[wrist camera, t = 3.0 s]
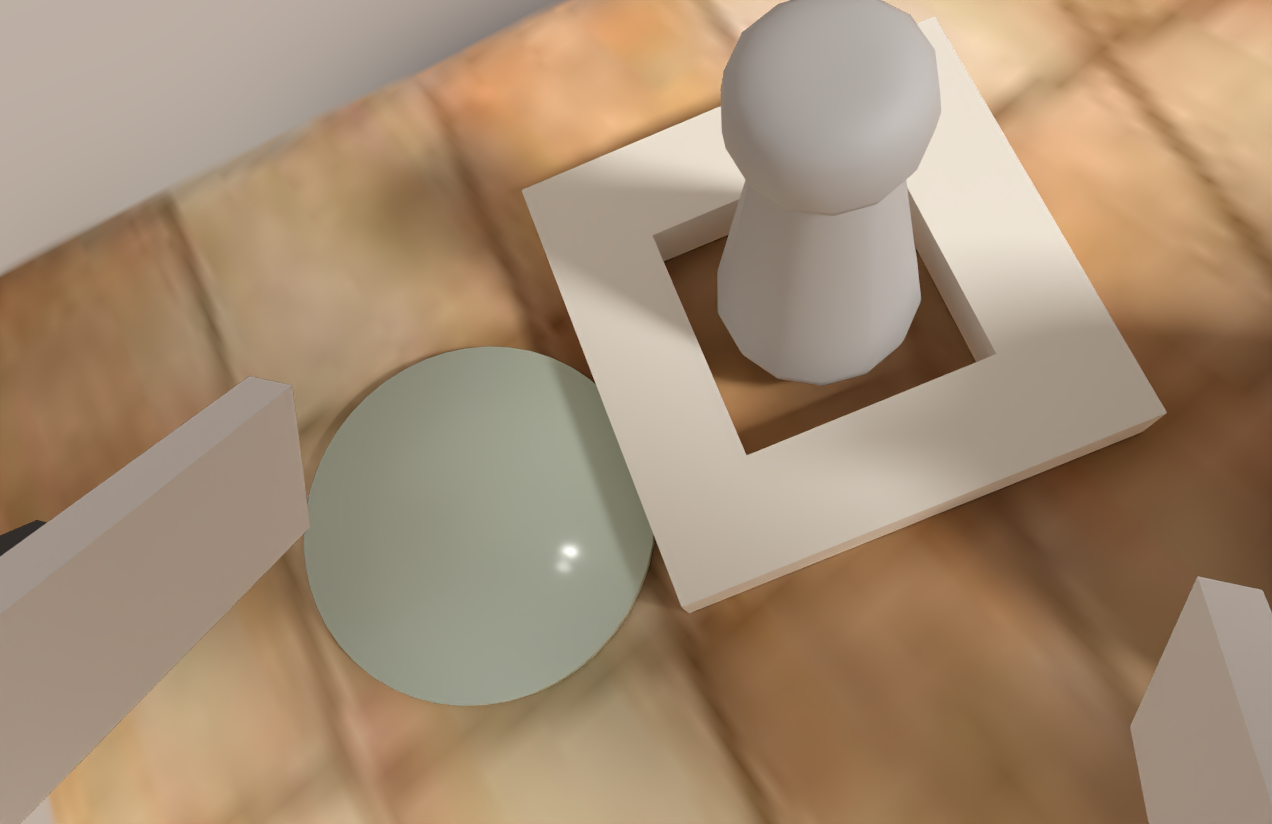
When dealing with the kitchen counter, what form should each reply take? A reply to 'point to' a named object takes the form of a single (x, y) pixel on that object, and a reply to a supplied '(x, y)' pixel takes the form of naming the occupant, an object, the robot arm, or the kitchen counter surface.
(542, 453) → the coaster
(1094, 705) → the kitchen counter surface
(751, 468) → the collar
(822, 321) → the salt shaker
